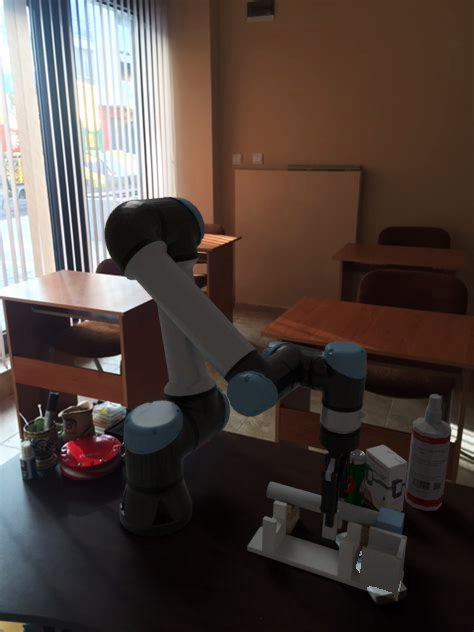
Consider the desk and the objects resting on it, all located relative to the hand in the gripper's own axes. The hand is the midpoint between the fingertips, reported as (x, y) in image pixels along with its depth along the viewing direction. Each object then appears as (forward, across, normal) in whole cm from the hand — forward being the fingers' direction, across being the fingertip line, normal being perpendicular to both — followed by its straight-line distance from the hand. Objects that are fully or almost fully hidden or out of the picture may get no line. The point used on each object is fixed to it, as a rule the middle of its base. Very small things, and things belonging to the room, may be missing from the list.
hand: (331, 531), depth 106 cm
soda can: (+2, +13, -1) cm, 13 cm away
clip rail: (+1, -8, 0) cm, 8 cm away
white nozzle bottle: (+1, +21, -15) cm, 26 cm away
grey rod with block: (-4, 0, 0) cm, 4 cm away
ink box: (+2, +16, -7) cm, 17 cm away
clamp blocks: (+1, 0, +2) cm, 3 cm away
